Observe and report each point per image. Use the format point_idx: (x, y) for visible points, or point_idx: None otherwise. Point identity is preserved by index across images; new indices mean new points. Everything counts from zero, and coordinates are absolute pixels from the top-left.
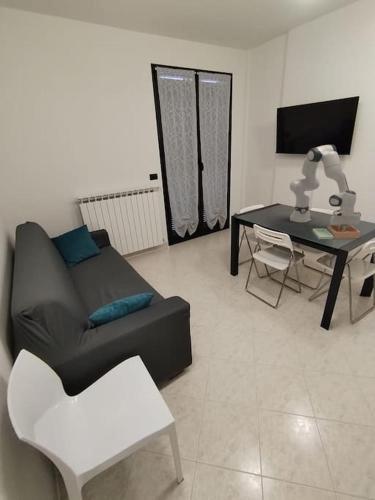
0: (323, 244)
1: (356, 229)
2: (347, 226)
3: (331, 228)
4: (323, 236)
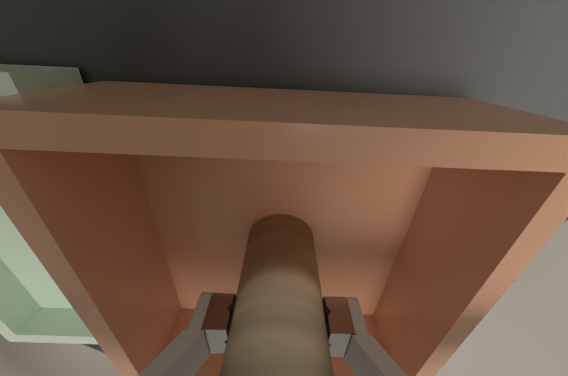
0: (93, 346)
1: (440, 358)
2: (359, 348)
3: (76, 307)
4: (47, 340)
